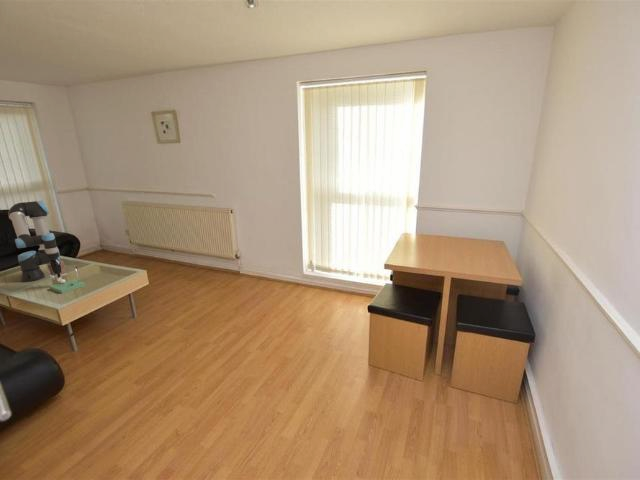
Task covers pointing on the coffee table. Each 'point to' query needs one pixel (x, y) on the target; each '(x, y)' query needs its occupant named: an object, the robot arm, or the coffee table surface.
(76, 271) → the pin
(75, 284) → the green board
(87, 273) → the coffee table surface
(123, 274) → the coffee table surface
